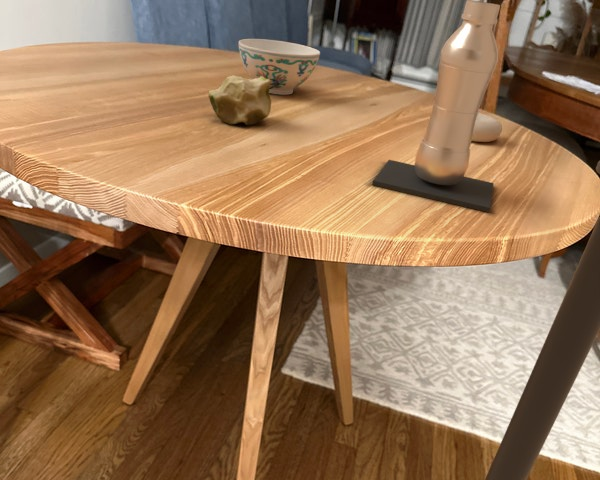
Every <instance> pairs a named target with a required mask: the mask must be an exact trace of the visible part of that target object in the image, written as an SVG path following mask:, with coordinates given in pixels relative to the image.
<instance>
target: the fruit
mask: <svg viewBox="0 0 600 480" xmlns="http://www.w3.org/2000/svg"><path fill="white" fill-rule="evenodd" d="M277 85H279V82H278V83H277V84H276V85H274V86H272V87H270V79H266V78H264V77H263V76H260V78H255V79H252V78H244V76H243V77H242V76H240V75H234V74H232V75H230V76H227V77H225V79H224V80H223V82H222V83H221V85H220V86H219V87H218V88H215V89H211V90H209V91H208V98H209V102H210V105H211V107H212V110H213V111H214V113H215V115H216V117H217V118H218V119H219V120H220V121H222V122H224V123H226V124H228V125H236V124H240V123H244V124H245V126H253V125H257V124H259V123H261V122H262V121H263V120H265V119H266V118H268V116H269V115H270V113H271V110H272V99H271V96H270V94H271V93H269V89H272V88H274V87H276V86H277ZM269 87H270V88H269Z"/></svg>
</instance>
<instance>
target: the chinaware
mask: <svg viewBox="0 0 600 480" xmlns="http://www.w3.org/2000/svg"><path fill="white" fill-rule="evenodd" d="M237 43H238V50H239V51H238V52H239V56H240V60H241V63H242V66H243V67H244V69H245V71H246V73H247V75H249V77H250V79H255V78H260V76H263V77H264V78H266V79H270V87H272V86H274V85H276V84H277V83H278V82H279V85H277V86H276V87H274V88H272V89H269V94H273V95H280V96H281V95H283V96H284V95H285V96H287V95H293V93H294V89H295V88H297V87H299V86H300V85H302V84H303V83H304V82H305V81H306V80H308V79H309V77H310V76H311V75H312V73H313V72H314V71H315V69H316V67H317V64H318V62H319V59H320V56H321V51H320V50H319V49H316V48H314V47H310V46H308V45H303V44H301V43H300V44H299V43H295V42H289V41H283V40H276V39H266V38H264V39H263V38H245V39H244V38H243V39H240V40H238V42H237ZM270 87H269V88H270Z"/></svg>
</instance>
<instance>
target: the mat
mask: <svg viewBox="0 0 600 480" xmlns="http://www.w3.org/2000/svg"><path fill="white" fill-rule="evenodd" d="M371 185H372V186H373V187H379V188H384V189H388V190H391V191H396V192H401V193H404V194H408V195H413V196H416V197H417V196H418V197H421V198H426V199H430V200H434V201H439V202H443V203H446V204H451V205H455V206H459V207H463V208H468V209H472V210H476V211H481V212H484V213H490V210H491V207H492V199H493V193H494V185H495V184H494V182H490V181H486V180H480V179H478V178H477V179H476V178H473V177H468V176H464V177H463V179H462V180H460V181H459V182H458V183H457V184H455V185H440V184H435V183H431V182H428V181H425V180H423V179H421V178H420V177H419V176H418V175H417V173H416V170H415V164H410V163H407V162H402V161H398V160H394V159H388V160H387V162H386V163H385V164H384V165H383V167H382V168H381V169H380V171H378V173H377V175H376V176H375V177H374V179H372V183H371Z"/></svg>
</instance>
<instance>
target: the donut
mask: <svg viewBox="0 0 600 480" xmlns="http://www.w3.org/2000/svg"><path fill="white" fill-rule="evenodd" d="M502 132H503V125H502V123H501V122H500V121H499V120H498V119H497V118H495V117H493V116H491V115H488V114H485V113H481V112H478V115H477V118H476V121H475V126H474V131H473V136H472V141H471V142H474V143H475V142H476V143H489V142H494V141H496V140H498V138H499V137H500V136H501V134H502Z"/></svg>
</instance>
